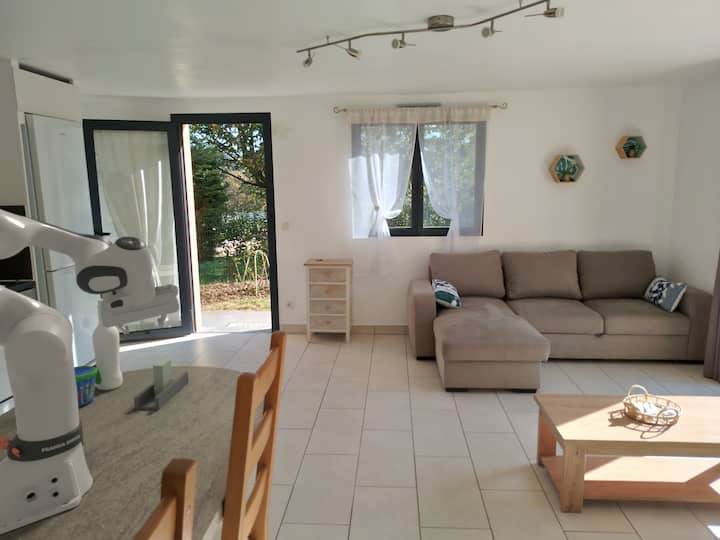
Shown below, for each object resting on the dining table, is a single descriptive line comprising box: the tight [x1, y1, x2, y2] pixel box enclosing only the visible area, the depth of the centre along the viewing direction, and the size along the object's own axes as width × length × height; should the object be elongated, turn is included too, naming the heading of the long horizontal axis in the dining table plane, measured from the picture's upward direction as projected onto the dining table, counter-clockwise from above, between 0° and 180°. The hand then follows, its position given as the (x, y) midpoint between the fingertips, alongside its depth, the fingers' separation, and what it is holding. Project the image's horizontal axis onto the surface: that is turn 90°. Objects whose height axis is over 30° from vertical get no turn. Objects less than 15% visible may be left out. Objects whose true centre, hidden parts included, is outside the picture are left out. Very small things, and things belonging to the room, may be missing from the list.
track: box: [133, 371, 190, 411], centre depth 154 cm, size 22×7×4 cm, turn 177°
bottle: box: [91, 298, 124, 391], centre depth 159 cm, size 8×8×30 cm
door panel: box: [152, 359, 173, 396], centre depth 153 cm, size 6×3×10 cm, turn 177°
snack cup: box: [74, 365, 102, 407], centre depth 147 cm, size 16×10×10 cm
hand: (143, 328), depth 139 cm, fingers open, 8 cm apart
